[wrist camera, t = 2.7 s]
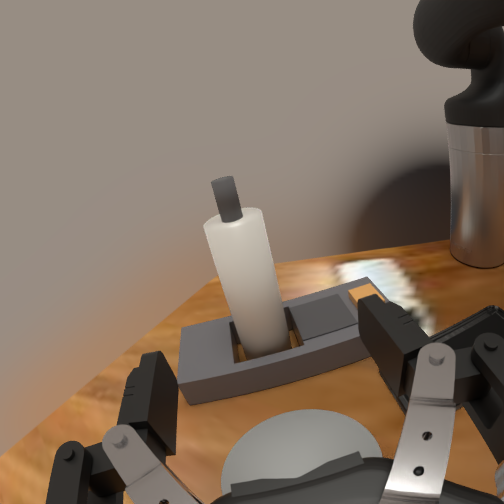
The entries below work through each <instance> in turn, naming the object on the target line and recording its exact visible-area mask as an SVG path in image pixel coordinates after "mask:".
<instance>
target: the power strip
mask: <svg viewBox="0 0 504 504" xmlns="http://www.w3.org/2000/svg"><path fill="white" fill-rule="evenodd" d="M372 294H377V295H378V296H379V297H380V298H381V299H382V300H383V301H384V303H387V302H389V300H388V299H387V298H386V297H385V296H384V294H383V293H382V292H381V291H380V290H379V289H378V288H377V287H376V286H375V285H374V283H373V282H372V281H371V280H370V279H369V278H368V277H364V278H361V279H358V280H355V281H352V282H349V283H345V284H342V285H339V286H336V287H332V288H329V289H326V290H322V291H319V292H316V293H312V294H309V295H305V296H302V297H298V298H295V299H291V300H288V301H284V302H282V304H283V308H284V313H285V318H286V322H287V327H288V331H289V330H292V329H293V330H294V333H295V335H296V338H297V340H298V343H299V345H300V347H296V348H293V349H289V350H286V351H282V352H279V353H275V354H271V355H268V356H264V357H260V358H256V359H252V360H248V361H244V362H240V363H239V356H238V349H237V344H240V343H241V341H240V339H239V336H238V333H237V330H236V327H235V324H234V321H233V318H232V316H228V317H224V318H220V319H216V320H212V321H208V322H204V323H200V324H195V325H191V326H187V327H183V328H182V329H181V340H180V351H179V363H178V376H177V383H178V387H179V389H180V390H181V392H182V394H183V395H184V397H185V398H186V400H187V402H188V403H189V405H194V404H200V403H205V402H211V401H216V400H221V399H225V398H230V397H235V396H239V395H244V394H248V393H252V392H256V391H261V390H265V389H268V388H272V387H276V386H280V385H284V384H287V383H291V382H294V381H298V380H301V379H305V378H308V377H311V376H314V375H318V374H321V373H324V372H327V371H330V370H333V369H336V368H339V367H342V366H345V365H348V364H351V363H354V362H356V361H359V360H362V359H365V358H367V357H370V356H371V355H370V353H369V352H368V350H367V349H366V347H365V345H364V344H363V342H362V340H361V338H360V335H359V330H358V307H357V302H358V299H360V298H363V297H366V296H369V295H372Z"/></svg>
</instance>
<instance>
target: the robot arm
mask: <svg viewBox="0 0 504 504" xmlns="http://www.w3.org/2000/svg"><path fill="white" fill-rule="evenodd" d="M502 26H504V0H420V2H419V4H418V6H417V8H416V11H415V14H414V21H413V29H414V37H415V40H416V43H417V45H418V47H419V49H420V51H421V52H422V53H423V55H424V56H425V57H426V58H427V59H429V60H430V61H431V62H433V63H435V64H437V65H440V66H443V67H448V68H463V69H471V84H470V85H469V87H468V88H467V89H466V90H465V91H463V92H462V93H460V94H458V95H456V96H453V97H451V98H449V99H448V100H446V102H445V105H444V108H445V117H446V122H447V123H446V125H447V135H448V145H449V157H450V174H451V237H450V251H451V254H452V255H453V256H454V257H455V258H456V259H457V260H459V261H461V262H463V263H465V264H468V265H471V266H475V267H486V268H488V267H495V266H499V265H501V264H503V263H504V31H503V29H502ZM357 307H358V330H359V335H360V338H361V340H362V342H363V344H364V345H365V347H366V349H367V350H368V352H369V353H370V355H371V356H372V358H373V359H374V361H375V363H376V364H377V366H378V367H379V369H380V370H381V372H382V374H383V375H384V377H385V378H386V380H387V382H388V383H389V385H390V386H391V388H392V390H393V391H394V393H395V394H396V396H397V398H398V397H400V396H402V395H404V394H407V395H408V397H409V398H410V399H409V403H408V408H407V412H406V416H405V420H404V424H403V428H402V432H401V436H400V439H399V443H398V446H397V449H396V453H395V456H394V459H389V458H383V457H365V458H362V457H361V455H360V452H359V451H357V452H354V453H352V454H349V455H346V456H343V457H340V458H337V459H334V460H331V461H328V462H326V463H324V464H323V465H321V466H319V467H317V468H315V469H314V470H312V471H310V472H308V473H306V474H304V475H302V476H300V477H297V478H278V479H263V478H262V479H257V480H252V481H246V482H240V483H234V484H230V485H231V492H229V493H227V494H225V495H223V496H221V497H219V498H218V499H216V500H215V501H213V502H212V503H211V504H504V339H503V338H502V337H501V336H499V335H497V334H495V333H483V334H481V335H479V336H478V337H477V338H476V339H475V341H474V345H473V347H468V348H463V349H458V350H453V349H452V348H451V347H450V346H448V345H446V344H443V343H434V342H433V341H432V340H431V339H430V338H429V337H428V335H427V334H426V333H425V332H424V331H423V330H422V329H421V328H420V327H419V325H418V324H417V323H416V322H415V321H413V319H412V318H411V317H410V316H409V315H408V314H407V312H406V311H405V310H404V309H403V308H402V307H401V306H399V305H397V304H395V303H393V302H391V301H389V302H387V303H384V301H383V300H382V299H381V298H380V297H379V296H378V295H377V294H372V295H369V296H366V297H363V298H360V299H358V302H357ZM178 391H179V390H178V383H177V380H176V377H175V375H174V373H173V371H172V370H171V368H170V366H169V364H168V362H167V360H166V358H165V357H164V355H163V353H162V352H161V351H156V352H151V353H146V354H143V355H142V357H141V361H140V365H139V367H137V368H134V369H133V370H132V372H131V373H130V375H129V376H128V378H127V382H126V386H125V390H124V394H123V396H124V397H123V399H122V403H121V407H120V412H119V417H118V421H117V426H114V427H112V428H111V429H110V430H108V431H107V432H106V434H105V435H104V437H103V440H102V442H100V443H98V444H95V445H92V446H88V447H85V448H84V447H83V446H82V445H81V444H80V443H79V442H77V441H68V442H66V443H64V444H62V445H61V446H60V447H59V449H58V450H57V452H56V455H55V459H54V463H53V468H52V473H51V477H50V482H49V488H48V493H47V499H46V504H123V491H125V490H126V492H127V494H128V495H129V497H130V498H131V500H132V501H133V502H134V504H204V503H203V502H202V501H201V500H200V499H199V498H198V497H197V496H196V495H195V494H194V493H193V492H192V491H191V490H190V489H189V488H188V487H187V486H186V485H185V484H184V483H183V482H182V481H181V480H180V479H179V478H178V477H177V476H176V475H175V474H174V472H173V471H172V470H171V469H170V468H169V467H168V466H167V465H166V464H165V463H166V456H171V455H176V429H177V409H178ZM459 403H462V405H463V407H464V408H465V410H466V411H467V413H468V414H469V416H470V418H471V419H472V421H473V422H474V424H475V426H476V427H477V429H478V430H479V432H480V434H481V435H482V437H483V439H484V440H485V442H486V444H487V445H488V447H489V449H490V451H491V452H492V454H493V456H494V458H495V459H496V461H497V463H498V467H497V469H496V472H495V482H496V487H497V496H494V495H492V494H488V493H485V492H481V491H478V490H475V489H471V488H468V487H465V486H462V485H459V484H456V483H453V482H450V481H447V480H445V479H444V477H445V473H446V468H447V463H448V458H449V452H450V446H451V440H452V434H453V426H454V418H455V409H456V404H459ZM87 498H88V499H87Z"/></svg>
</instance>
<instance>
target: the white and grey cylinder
mask: <svg viewBox="0 0 504 504" xmlns="http://www.w3.org/2000/svg"><path fill="white" fill-rule="evenodd" d="M211 184H212V188H213V191H214V195H215V199H216V202H217V206H218V210H219V213H220V214H219V215H216V216H214V217H213V218H211V219H209V220H208V221H207V222H206V223H205V224H204V226H203V227H204V230H205V234H206V237H207V240H208V243H209V246H210V250H211V253H212V256H213V259H214V263H215V265H216V269H217V272H218V275H219V278H220V281H221V284H222V288H223V291H224V294H225V297H226V300H227V303H228V306H229V309H230V312H231V315H232V318H233V321H234V324H235V327H236V330H237V333H238V336H239V339H240V341H241V344H242V347H243V350H244V353H245V356H246V359H247V361H248V360H252V359H256V358H260V357H264V356H268V355H271V354H275V353H279V352H282V351H286V350H289V349H292V346H291V341H290V336H289V332H288V327H287V322H286V318H285V313H284V308H283V304H282V299H281V295H280V290H279V286H278V281H277V277H276V272H275V268H274V263H273V259H272V254H271V250H270V245H269V241H268V237H267V232H266V228H265V224H264V219H263V215H262V211H261V210H260V209H257V208H241V207H240V203H239V198H238V194H237V191H236V187H235V183H234V179H233V177H232V176H227V177H222V178H219V179H216V180H214V181H212V182H211Z"/></svg>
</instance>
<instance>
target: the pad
mask: <svg viewBox="0 0 504 504" xmlns="http://www.w3.org/2000/svg"><path fill="white" fill-rule="evenodd" d="M357 451H359V452H360V455H361V457H362V458H365V457H382V453H381V450H380V447H379V445H378V443H377V441H376V440H375V438H374V437H373V435H372V434H371V433H370V432H369V431H368V430H367V429H366V428H365V427H364V426H363V425H361V424H360V423H358V422H357V421H356V420H354V419H352V418H350V417H348V416H345V415H343V414H340V413H336V412H332V411H327V410H317V409H308V410H297V411H291V412H287V413H283V414H280V415H277V416H274V417H272V418H269V419H267V420H265V421H263V422H261V423H260V424H258V425H256V426H255V427H253V428H252V429H251V430H249V431H248V432H247V433H246V434H244V435H243V436H242V437H241V438H240V439H239V440H238V442H237V443H236V444H235V445H234V447H233V448H232V450H231V451H230V453H229V454H228V456H227V459H226V461H225V463H224V467H223V470H222V477H221V489H222V494H223V495H225V494H227V493H229V492H231V485H230V484H234V483H240V482H246V481H252V480H257V479H262V478H263V479H278V478H297V477H300V476H302V475H304V474H306V473H308V472H310V471H312V470H314V469H315V468H317V467H319V466H321V465H323V464H324V463H326V462H328V461H331V460H334V459H337V458H340V457H343V456H346V455H349V454H352V453H354V452H357Z"/></svg>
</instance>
